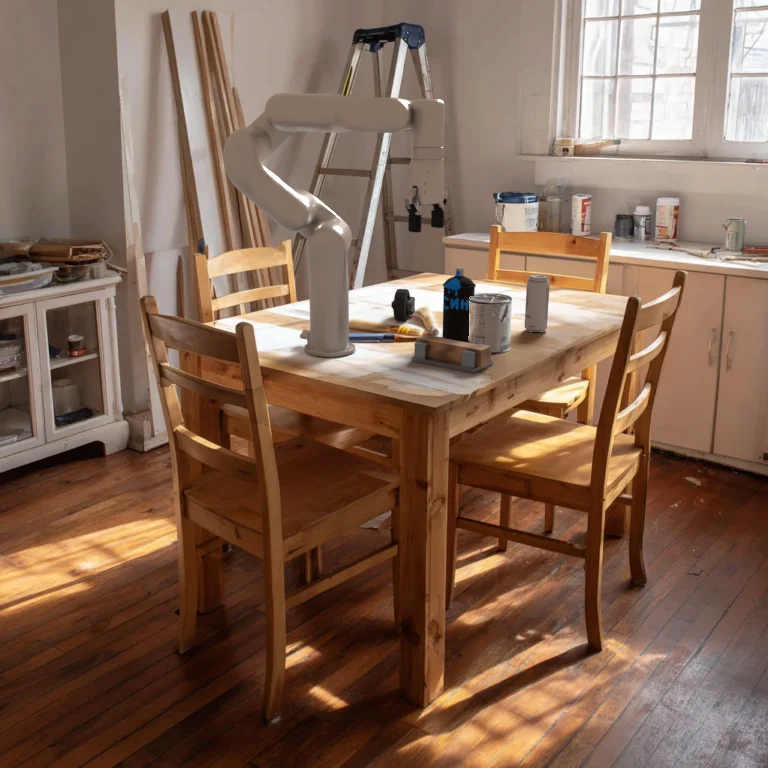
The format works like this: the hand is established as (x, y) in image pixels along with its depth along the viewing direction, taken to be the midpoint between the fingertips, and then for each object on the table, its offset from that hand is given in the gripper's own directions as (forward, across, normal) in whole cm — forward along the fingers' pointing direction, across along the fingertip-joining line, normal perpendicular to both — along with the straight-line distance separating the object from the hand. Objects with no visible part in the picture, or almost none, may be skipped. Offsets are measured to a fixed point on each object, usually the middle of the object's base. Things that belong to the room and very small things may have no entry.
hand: (426, 229), depth 212 cm
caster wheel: (+31, -28, -25) cm, 48 cm away
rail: (+29, +3, +10) cm, 31 cm away
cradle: (+30, +3, +10) cm, 32 cm away
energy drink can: (+31, -37, +12) cm, 49 cm away
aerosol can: (+31, -11, +3) cm, 33 cm away
